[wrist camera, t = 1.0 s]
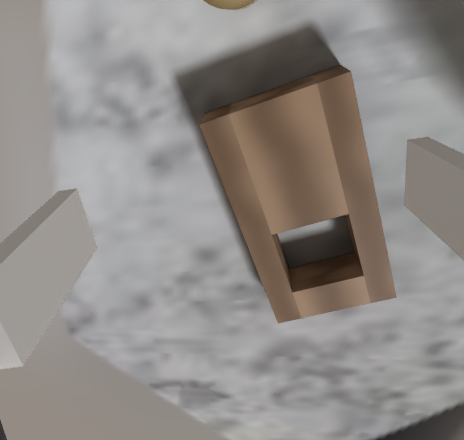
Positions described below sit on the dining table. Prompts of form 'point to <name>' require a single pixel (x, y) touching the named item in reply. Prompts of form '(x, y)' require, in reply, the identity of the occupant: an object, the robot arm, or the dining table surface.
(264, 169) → the block
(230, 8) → the bushing
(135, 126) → the dining table surface
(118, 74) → the dining table surface
